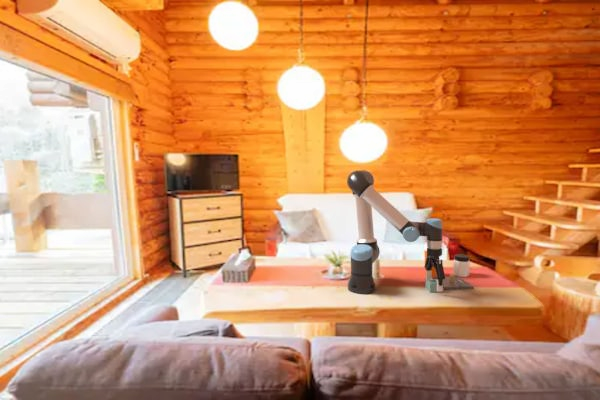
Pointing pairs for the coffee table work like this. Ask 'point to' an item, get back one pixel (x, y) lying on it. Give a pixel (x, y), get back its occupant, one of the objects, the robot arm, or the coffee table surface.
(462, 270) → the jar
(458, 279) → the hub plate
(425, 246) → the shaker bottle
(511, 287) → the coffee table surface
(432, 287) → the teal open box
